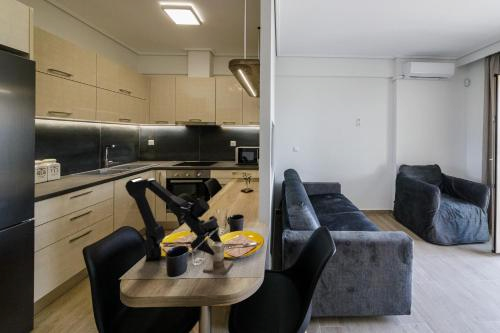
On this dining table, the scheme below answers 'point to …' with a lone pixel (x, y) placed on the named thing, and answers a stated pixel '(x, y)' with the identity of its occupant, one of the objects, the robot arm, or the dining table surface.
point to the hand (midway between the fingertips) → (218, 250)
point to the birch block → (218, 251)
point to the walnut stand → (218, 267)
